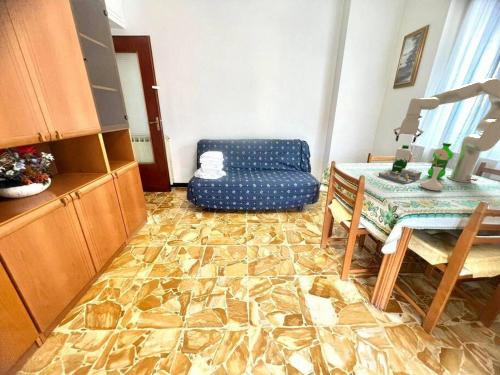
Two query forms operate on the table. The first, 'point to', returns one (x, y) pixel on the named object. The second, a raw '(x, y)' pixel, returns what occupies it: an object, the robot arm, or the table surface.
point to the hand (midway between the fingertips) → (404, 142)
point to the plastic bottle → (441, 161)
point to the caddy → (397, 177)
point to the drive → (411, 173)
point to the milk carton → (401, 158)
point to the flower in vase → (435, 172)
